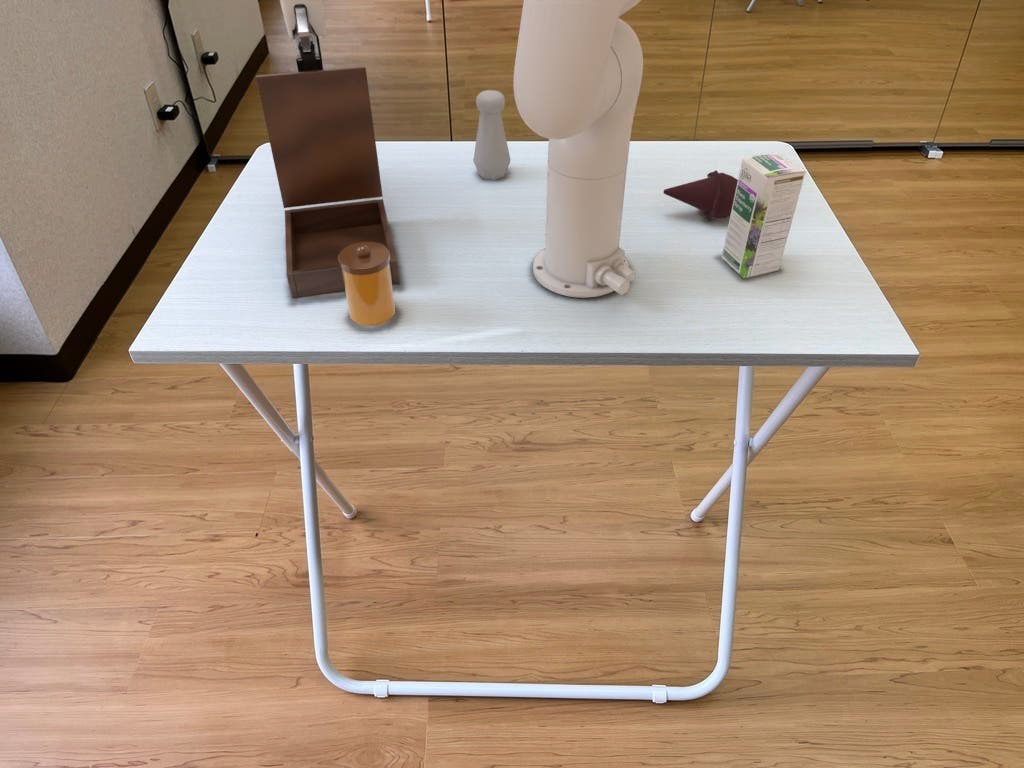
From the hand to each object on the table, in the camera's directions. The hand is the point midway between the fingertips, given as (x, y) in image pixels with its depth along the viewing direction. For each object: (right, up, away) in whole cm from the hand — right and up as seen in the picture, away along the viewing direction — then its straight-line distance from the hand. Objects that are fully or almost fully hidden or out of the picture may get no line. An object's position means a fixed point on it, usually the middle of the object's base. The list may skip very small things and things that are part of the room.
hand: (312, 76), depth 106 cm
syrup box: (+59, -26, -2) cm, 65 cm away
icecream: (+57, -18, +8) cm, 60 cm away
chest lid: (+2, -10, -3) cm, 11 cm away
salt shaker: (+24, -9, +18) cm, 32 cm away
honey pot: (+10, -34, -10) cm, 37 cm away
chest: (+4, -26, -1) cm, 26 cm away
